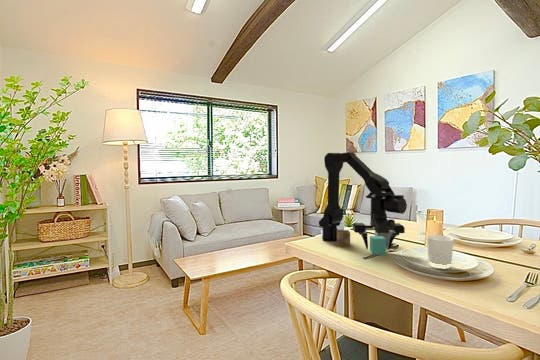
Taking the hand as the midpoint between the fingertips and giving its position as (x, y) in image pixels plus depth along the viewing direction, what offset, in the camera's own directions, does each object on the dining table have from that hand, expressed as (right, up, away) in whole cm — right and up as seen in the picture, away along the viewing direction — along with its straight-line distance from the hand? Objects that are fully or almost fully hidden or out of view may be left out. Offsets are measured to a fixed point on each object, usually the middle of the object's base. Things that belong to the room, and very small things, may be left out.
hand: (377, 249), depth 124 cm
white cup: (+16, -2, -16) cm, 23 cm away
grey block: (+6, 0, +13) cm, 14 cm away
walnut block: (-11, -1, +11) cm, 16 cm away
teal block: (0, -1, 0) cm, 1 cm away
